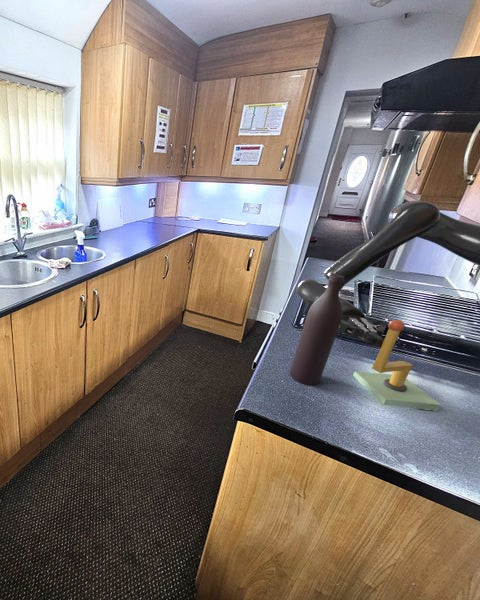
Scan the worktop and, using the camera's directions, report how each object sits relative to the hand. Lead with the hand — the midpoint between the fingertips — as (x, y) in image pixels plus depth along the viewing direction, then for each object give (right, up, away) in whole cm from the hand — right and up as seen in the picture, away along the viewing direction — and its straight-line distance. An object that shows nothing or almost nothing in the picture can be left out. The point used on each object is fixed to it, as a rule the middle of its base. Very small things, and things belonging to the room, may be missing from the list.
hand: (379, 343), depth 79 cm
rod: (+5, -11, +4) cm, 13 cm away
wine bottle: (-10, -11, +12) cm, 19 cm away
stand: (+9, -14, +6) cm, 18 cm away
